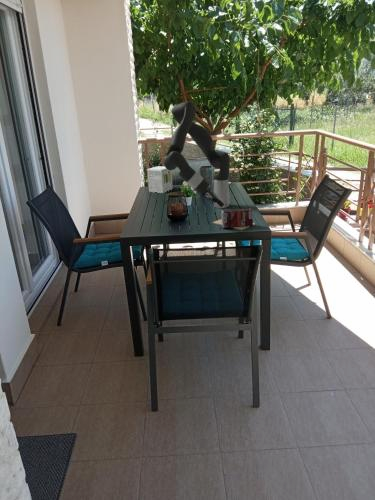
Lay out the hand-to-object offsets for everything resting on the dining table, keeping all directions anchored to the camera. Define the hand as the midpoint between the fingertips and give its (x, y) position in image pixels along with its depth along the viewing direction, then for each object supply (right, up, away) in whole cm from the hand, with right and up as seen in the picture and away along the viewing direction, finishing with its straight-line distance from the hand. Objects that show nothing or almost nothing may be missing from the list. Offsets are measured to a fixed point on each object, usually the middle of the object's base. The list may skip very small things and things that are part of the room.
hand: (222, 205), depth 198 cm
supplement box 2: (0, -7, +5) cm, 8 cm away
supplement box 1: (-38, +22, +98) cm, 107 cm away
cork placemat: (+7, -8, +12) cm, 16 cm away
